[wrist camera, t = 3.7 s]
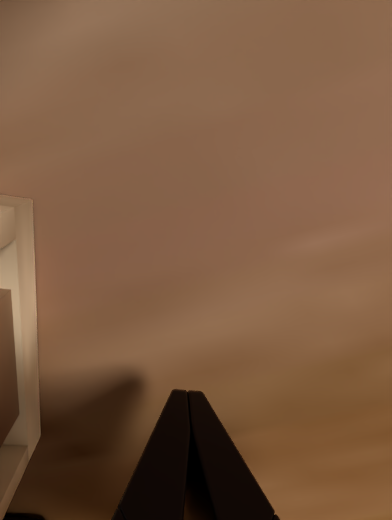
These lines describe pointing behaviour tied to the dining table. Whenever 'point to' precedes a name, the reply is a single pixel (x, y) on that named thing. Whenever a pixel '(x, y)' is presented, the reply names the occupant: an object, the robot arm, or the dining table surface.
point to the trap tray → (20, 339)
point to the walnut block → (7, 367)
